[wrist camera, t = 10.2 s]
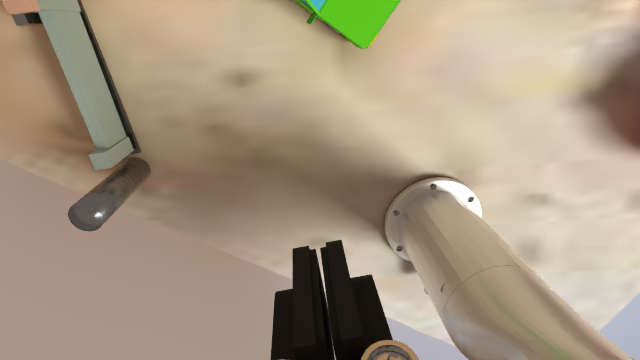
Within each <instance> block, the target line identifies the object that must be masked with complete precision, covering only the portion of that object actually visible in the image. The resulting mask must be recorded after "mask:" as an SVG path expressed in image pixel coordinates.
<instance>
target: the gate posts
mask: <svg viewBox="0 0 640 360" xmlns="http://www.w3.org/2000/svg"><path fill="white" fill-rule="evenodd" d="M77 1H78V4H79V6H80V9H81V12H80V15H81V17H82V20H83V23H84V25H85V28H86V31H87V33H88V36H89V39H90V41H91V44H92V46H93V49H94V52H95V54H96V57H97V60H98V62H99V65H100V68H101V70H102V73H103V75H104V78H105V81H106V83H107V86H108V89H109V91H110V94H111V97H112V99H113V102H114V104H115V107H116V110H117V112H118V115H119V118H120V120H121V123H122V126H123V128H124V131H125V133H126V136H127V137H129V139H130V142H131V144H132V147H133V149H134V151H132V152H131V153H130V154H135V153H140V152H141V150H140V147H139V145H138V142H137V140H136V137H135V135H134V132H133V130H132V127H131V125H130V122H129V120H128V117H127V115H126V112H125V110H124V107H123V105H122V102H121V100H120V97H119V95H118V92H117V90H116V87H115V85H114V82H113V80H112V77H111V75H110V72H109V70H108V67H107V65H106V62H105V60H104V58H103V55H102V53H101V50H100V48H99V45H98V43H97V40H96V38H95V35H94V33H93V30H92V28H91V25H90V23H89V20H88V18H87V15H86V13H85V10H84V8H83V5H82V3H81V0H77ZM12 16H13V18H14V20H15V22H16V24H17V26H44V25H43V22H42V20H41V18H40V15H39V13H38V12H29V13H22V14H12ZM149 175H150V168H149V165H148V164H147V163H146V162H145V161H144V160H142V159H139V158H132V159H129V160H128V161H127V162H125V163H124V164H123V165H122V166H120V167H119V168H118V169H117V170H116V171H114V172H113V173H112V174H111V175H109V176H108V177H107V178H106V179H105V180H103V181H102V182H101V183H100V184H98V185H97V186H96V187H95V188H94V189H92V190H91V191H90V192H89V193H87V194H86V195H85V196H84V197H83V198H81V199H80V200H79V201H78V202H77V203H75V204H74V205H73V206H72V207H71V208H70V209H69V212H68V217H69V219H70V221H71V223H72V224H73V225H74V226H75V227H77V228H79V229H81V230H84V231H94V230H97V229H98V228H100V227H101V226H102V225H103V224H104V223H105V222H106V220H107V219H108V218H109V217H110V216H111V215H112V214H113V213H114V212H115V211H116V210H117V209H118V208H119V207H120V206H121V205H122V204H123V203H124V202H125V201H126V200H127V199H128V197H129V196H130V195H131V194H132V193H133V192H134V191H135V190H136V189H137V188H138V187H139V186H140V185H141V184H142V183H143V182H144V181H145V180H146V179H147V178H148V176H149Z"/></svg>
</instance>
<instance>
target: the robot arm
mask: <svg viewBox="0 0 640 360" xmlns="http://www.w3.org/2000/svg"><path fill="white" fill-rule="evenodd" d="M431 184H432V185H431ZM395 210H396V211H395ZM385 234H386V238H387V240H388V242H389V244H390V246H391V248H392V249H393V251H394V252H395V253H396V254H397V255H399V256H400V257H402V258H403V259H405V260H407V261H410V262H412V263H413V265H414V267H415V269H416V271H417V273H418V275H419V277H420V279H421V281H422V283H423V285H424V291H425V293H427V294H428V295H429V296H430V298H431V300H432V302H433V304H434V306H435V308H436V310H437V312H438V314H439V316H440V318H441V320H442V322H443V324H444V326H445V328H446V330H447V332H448V334H449V336H450V337H451V339H452V341H453V343H454V344H455V346H456V347H457V348H458V349H459V350H460V352H461V353H462V354H463V355H464V356H465V357H466V358H467V359H469V360H634V359H633V358H631V357H630V356H629V355H628V354H626V353H625V352H624V351H622V350H621V349H620V348H618V347H617V346H616V345H615V344H613V343H612V342H611V341H609V340H608V339H607V338H606V337H604V336H603V335H602V334H601V333H599V332H598V331H597V330H596V329H595V328H594V327H592V326H591V325H590V324H589V323H588V322H586V321H585V320H584V319H583V318H582V317H581V316H580V315H579V314H577V313H576V312H575V311H574V310H573V309H572V308H571V307H570V306H569V305H568V304H567V303H566V302H565V301H564V300H563V299H562V298H560V297H559V296H558V295H557V294H556V293H555V292H554V291H553V290H552V289H551V288H550V287H549V286H548V285H547V284H546V283H545V282H544V281H543V280H542V279H541V278H540V277H539V276H538V275H537V274H536V273H535V272H534V271H533V270H532V269H531V268H530V267H529V266H528V265H527V264H526V263H525V262H524V261H523V260H522V259H521V258H520V257H519V256H518V255H517V254H516V253H515V252H514V251H513V250H512V249H511V248H510V247H509V246H508V245H507V244H506V243H505V242H504V241H503V240H502V239H501V238H500V237H499V236H498V234H497V233H496V232H495V231H494V230H493V229H492V228H491V227H490V226H489V225H488V224H487V223H486V222H485V221H484V220H483V219H482V210H481V205H480V202H479V200H478V198H477V196H476V195H475V193H474V192H473V191H472V190H471V189H470V188H468V187H467V186H466V185H465V184H463V183H462V182H459V181H457V180H455V179H451V178H446V177H435V178H428V179H425V180H421V181H418V182H416V183H414V184H412V185H410V186H409V187H407V188H406V189H405V190H403V191H402V192H401V193H400V194H399V195H398V196H397V197H396V198H395V199H394V201H393V202H392V204H391V205H390V207H389V209H388V211H387V214H386V218H385ZM320 250H321V257H322V265H323V273H324V281H325V288H326V296H327V302H326V297H325V293H324V288H323V283H322V278H321V273H320V268H319V263H318V258H317V254H316V249H312V250H310V249H309V246H304V247H299V248H293V289H288V290H283V291H277V292H276V293H275V301H274V317H273V334H272V349H271V360H335V358H334V351H335V356H336V360H419V359H418V357H417V355H416V354H415V353H414V352H413V350H412V349H411V348H409V347H408V346H407V345H405V344H403V343H401V342H398V341H393V339H392V336H391V333H390V330H389V327H388V324H387V321H386V317H385V314H384V311H383V308H382V305H381V302H380V299H379V296H378V293H377V289H376V286H375V283H374V280H373V277H372V275H365V276H360V277H354V278H350V275H349V271H348V266H347V262H346V258H345V254H344V249H343V245H342V241H341V240H337V241H332V242H326V247H323V248H320ZM327 304H328V307H327ZM328 312H329V313H328ZM331 334H332V335H331ZM332 341H333V342H332ZM333 346H334V350H333Z"/></svg>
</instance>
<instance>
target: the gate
mask: <svg viewBox="0 0 640 360" xmlns="http://www.w3.org/2000/svg"><path fill="white" fill-rule="evenodd" d="M1 1H2V3H3V5H4V7H5V10H6V12H7V14H22V13H29V12H38V13H39V15H40V18H41V20H42V22H43V25H44V27H45V29H46V32H47V34H48V36H49V39H50V41H51V44H52V46H53V48H54V51H55V53H56V55H57V58H58V60H59V62H60V65H61V67H62V70H63V72H64V74H65V77H66V79H67V81H68V84H69V86H70V88H71V91H72V93H73V95H74V98H75V100H76V103H77V105H78V107H79V110H80V112H81V114H82V117H83V119H84V121H85V124H86V126H87V128H88V131H89V133H90V136H91V138H92V140H93V143H94V145H95V147H96V150H95V151H94V152H92V153H90V154H89V155H88V156H89V158H90V160H91V162H92V165H93V167H94V169H95V170H101V169H107V168H112V167H113V166H114V165H116V164H117V163H118V162H120V161H121V160H122V159H123V158H125V157H126V156H127V155H129V154H130V153H131V152H132V151H134V149H133V147H132V144H131V142H130V139H129V137H127V136H126V133H125V131H124V128H123V126H122V123H121V120H120V118H119V115H118V112H117V110H116V107H115V104H114V102H113V99H112V97H111V94H110V91H109V89H108V86H107V83H106V81H105V78H104V75H103V73H102V70H101V68H100V65H99V62H98V60H97V57H96V54H95V52H94V49H93V46H92V44H91V41H90V39H89V36H88V33H87V31H86V28H85V25H84V23H83V20H82V17H81V15H80V12H81V9H80V6H79V4H78V1H77V0H1Z"/></svg>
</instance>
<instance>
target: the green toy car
mask: <svg viewBox="0 0 640 360" xmlns="http://www.w3.org/2000/svg"><path fill="white" fill-rule="evenodd" d="M295 1H296V2H297V3H299V4H300V5H301V6H302V7H304V8H305V9H306V10H307V11H309V12H310V13H311V14H312V15H311V16H310V18H309V19H308V21H307V23H309V24H312V23H313V21H314V20H315V18H318V19H319V20H321V21H323V22H325V23H326V24H327V25H329V26H330V28H332V29H333V30H334V31H335V32H337V33H338V34H340V35H342V36H343V37H345V38H346V39H347V40H348V41H350V42H351V43H353V44H354V45H355V46H357V47H359V48H362V49H365V48H368V46H371V44H372V43H373V41H374V40H375V38H376V37H377V36H378V34H377V33H378V32H379V31H380V29H381V28H382V26H383V25H384V24H385V22H386V21H387V19H388V18H389V16H390V15H391V14H392V12H393V11H394V9H395V8H396V6H397V5H398V4H399V2H400V1H401V0H295Z"/></svg>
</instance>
